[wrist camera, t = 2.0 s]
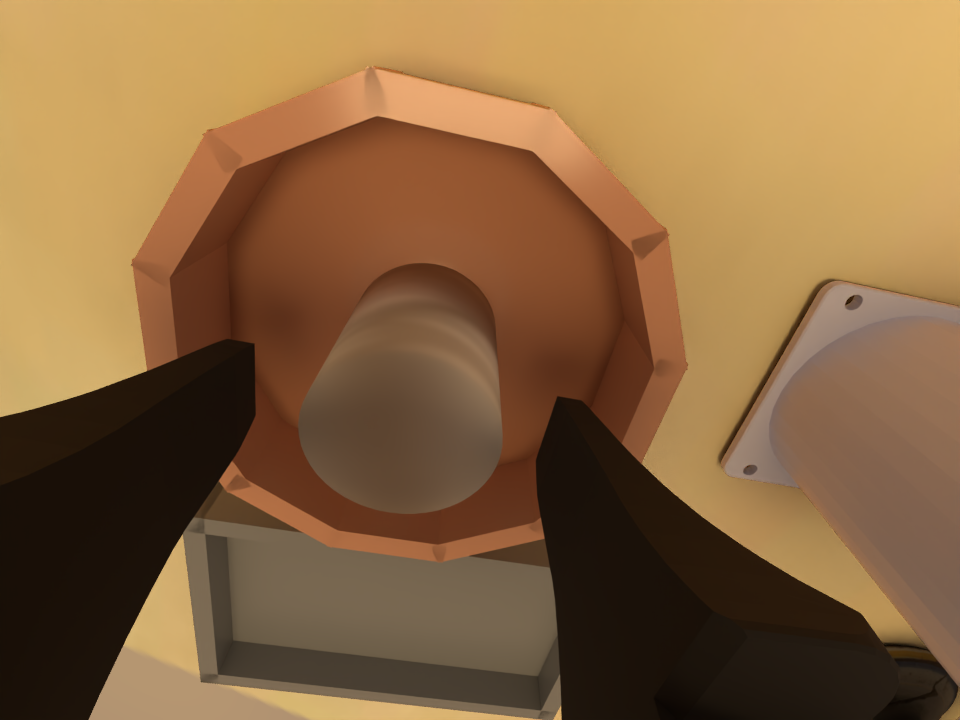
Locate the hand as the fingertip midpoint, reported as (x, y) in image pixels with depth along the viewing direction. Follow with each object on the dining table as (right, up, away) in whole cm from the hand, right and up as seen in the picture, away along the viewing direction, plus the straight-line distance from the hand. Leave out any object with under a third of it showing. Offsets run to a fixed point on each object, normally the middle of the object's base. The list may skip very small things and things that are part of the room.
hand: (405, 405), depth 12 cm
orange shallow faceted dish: (0, +3, +5) cm, 5 cm away
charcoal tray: (-2, -10, +11) cm, 15 cm away
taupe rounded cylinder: (0, +2, +4) cm, 4 cm away
